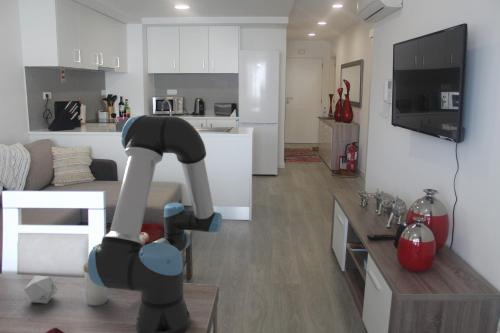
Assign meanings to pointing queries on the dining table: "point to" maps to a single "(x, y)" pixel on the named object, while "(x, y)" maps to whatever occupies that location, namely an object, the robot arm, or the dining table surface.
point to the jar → (94, 290)
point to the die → (40, 289)
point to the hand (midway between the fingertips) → (108, 273)
